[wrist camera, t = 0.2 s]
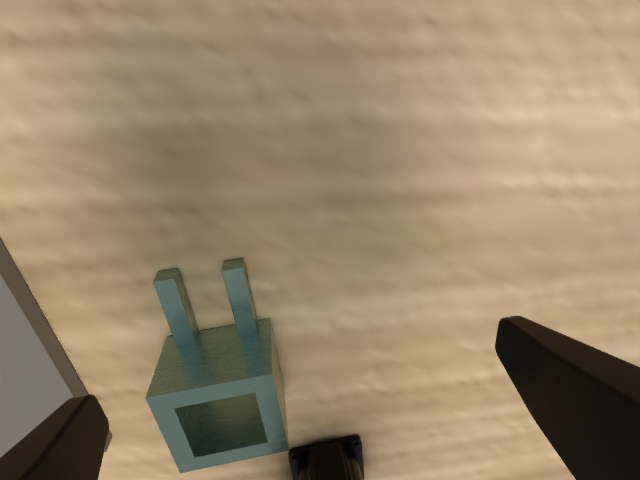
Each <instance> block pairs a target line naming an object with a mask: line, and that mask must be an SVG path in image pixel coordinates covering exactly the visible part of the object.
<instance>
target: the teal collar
mask: <svg viewBox="0 0 640 480" xmlns="http://www.w3.org/2000/svg"><path fill="white" fill-rule="evenodd" d="M222 273H223V276H224V280H225V284H226V288H227V292H228V296H229V300H230V303H231V307H232V311H233V315H234V319H235V323H236V324H235V325H230V326H224V327H218V328H212V329H207V330H201V331H198V328H197V325H196V322H195V319H194V316H193V313H192V309H191V306H190V303H189V300H188V297H187V294H186V291H185V288H184V285H183V282H182V279H181V276H180V272H179V269H172V270H165V271H159V272H158V273H157V275H156V277H155V279H154V281H153V284H154V286H155V289H156V292H157V294H158V297H159V300H160V302H161V305H162V308H163V311H164V313H165V316H166V319H167V321H168V324H169V327H170V329H171V332H172V335H173V336H167V338H166V341H165V343H164V346H163V349H162V352H161V355H160V358H159V361H158V364H157V366H156V369H155V372H154V375H153V378H152V381H151V384H150V387H149V389H148V392H147V395H146V400H147V402H148V404H149V407H150V409H151V411H152V413H153V415H154V417H155V419H156V422H157V424H158V426H159V428H160V430H161V432H162V435H163V437H164V439H165V441H166V443H167V445H168V448H169V450H170V452H171V454H172V456H173V458H174V460H175V463H176V465H177V467H178V469H179V471H180V473H184V472H189V471H193V470H198V469H203V468H207V467H212V466H217V465H221V464H226V463H231V462H236V461H240V460H245V459H250V458H254V457H259V456H264V455H269V454H273V453H278V452H283V451H287V450H289V443H288V430H287V418H286V405H285V392H284V385H283V380H282V375H281V370H280V365H279V360H278V355H277V350H276V345H275V340H274V335H273V330H272V325H271V321H270V318H269V319H264V320H258V321H257V318H256V313H255V309H254V304H253V300H252V296H251V291H250V287H249V282H248V278H247V273H246V269H245V264H244V260H243V258H242V259H235V260H229V261H224V263H223V269H222Z"/></svg>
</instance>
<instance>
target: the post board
mask: <svg viewBox="0 0 640 480" xmlns="http://www.w3.org/2000/svg"><path fill="white" fill-rule="evenodd" d="M87 394H88V393H87V391H86V389H85V387H84V386H83V384H82V382H81V380H80V378H79V377H78V375H77V373H76V371H75V370H74V368H73V366H72V364H71V363H70V361H69V359H68V357H67V356H66V354H65V352H64V350H63V348H62V347H61V345H60V343H59V341H58V340H57V338H56V336H55V334H54V333H53V331H52V329H51V327H50V325H49V324H48V322H47V320H46V318H45V317H44V315H43V313H42V311H41V310H40V308H39V306H38V304H37V303H36V301H35V299H34V297H33V295H32V294H31V292H30V290H29V288H28V287H27V285H26V283H25V281H24V280H23V278H22V276H21V274H20V272H19V271H18V269H17V267H16V265H15V264H14V262H13V260H12V258H11V257H10V255H9V253H8V251H7V250H6V248H5V246H4V244H3V242H2V241H1V239H0V458H1V457H2V456H3V455H4V454H5V453H6V452H8V451H9V450H10V449H11V448H12V447H13V446H14V445H16V444H17V443H18V442H19V441H20V440H21V439H23V438H24V437H25V436H26V435H27V434H28V433H30V432H31V431H32V430H33V429H34V428H35V427H37V426H38V425H39V424H40V423H41V422H42V421H44V420H45V419H46V418H47V417H48V416H49V415H51V414H52V413H53V412H54V411H55V410H56V409H57V408H59V407H60V406H61V405H62V404H63V403H64V402H66V401H67V400H68V399H70V398H72V397H77V396H82V395H87ZM111 439H112V435H111V433H110V431H108V436H107V441H106V445H105V449H104V452H106V451H107V449H108V446H109V444H110V441H111Z"/></svg>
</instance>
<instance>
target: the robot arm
mask: <svg viewBox="0 0 640 480" xmlns="http://www.w3.org/2000/svg"><path fill="white" fill-rule="evenodd" d="M495 349H496V353H497V355H498V357H499V359H500V361H501V363H502V364H503V366H504V368H505V370H506V371H507V373H508V375H509V377H510V378H511V380H512V382H513V384H514V386H515V387H516V389H517V391H518V393H519V394H520V396H521V398H522V400H523V401H524V403H525V405H526V407H527V408H528V410H529V412H530V413H531V415H532V417H533V418H534V420H535V421H536V423H537V424H538V426H539V427H540V429H541V430H542V432H543V433H544V434H545V436H546V437H547V439H548V440H549V442H550V443H551V445H552V446H553V447H554V449H555V450H556V452H557V453H558V455H559V456H560V457H561V459H562V460H563V462H564V463H565V465H566V466H567V467H568V469H569V470H570V472H571V473H572V475H573V476H574V478H575V479H576V480H640V367H638V366H635V365H633V364H631V363H628V362H626V361H624V360H622V359H619V358H617V357H615V356H612V355H610V354H608V353H605V352H603V351H601V350H598V349H596V348H594V347H591V346H589V345H587V344H584V343H582V342H580V341H577V340H575V339H573V338H570V337H568V336H566V335H563V334H561V333H559V332H556V331H554V330H552V329H549V328H547V327H545V326H542V325H540V324H538V323H535V322H533V321H531V320H528V319H526V318H524V317H521V316H511V317H506V318H502V319H501V320H500V321H499V324H498V330H497V336H496V343H495ZM108 431H109V423H108V419H107V417H106V415H105V413H104V411H103V410H102V408H101V406H100V404H99V402H98V400H97V398H96V397H95V396H94V395H92V394H87V395H82V396H77V397H72V398H70V399H68V400H67V401H66V402H64V403H63V404H62V405H61V406H60V407H59V408H57V409H56V410H55V411H54V412H53V413H52V414H51V415H49V416H48V417H47V418H46V419H45V420H44V421H42V422H41V423H40V424H39V425H38V426H37V427H35V428H34V429H33V430H32V431H31V432H30V433H28V434H27V435H26V436H25V437H24V438H23V439H21V440H20V441H19V442H18V443H17V444H16V445H14V446H13V447H12V448H11V449H10V450H9V451H8V452H6V453H5V454H4V455H3V456H2V457H1V458H0V480H98V476H99V472H100V467H101V463H102V458H103V454H104V449H105V445H106V441H107V436H108ZM288 456H289V462H290V466H291V471H292V475H293V480H364V471H363V456H362V442H361V439H360V437H359V436H353V437H348V438H344V439H339V440H334V441H330V442H325V443H320V444H316V445H311V446H306V447H301V448H297V449H292V450H290V451H289V453H288Z"/></svg>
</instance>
